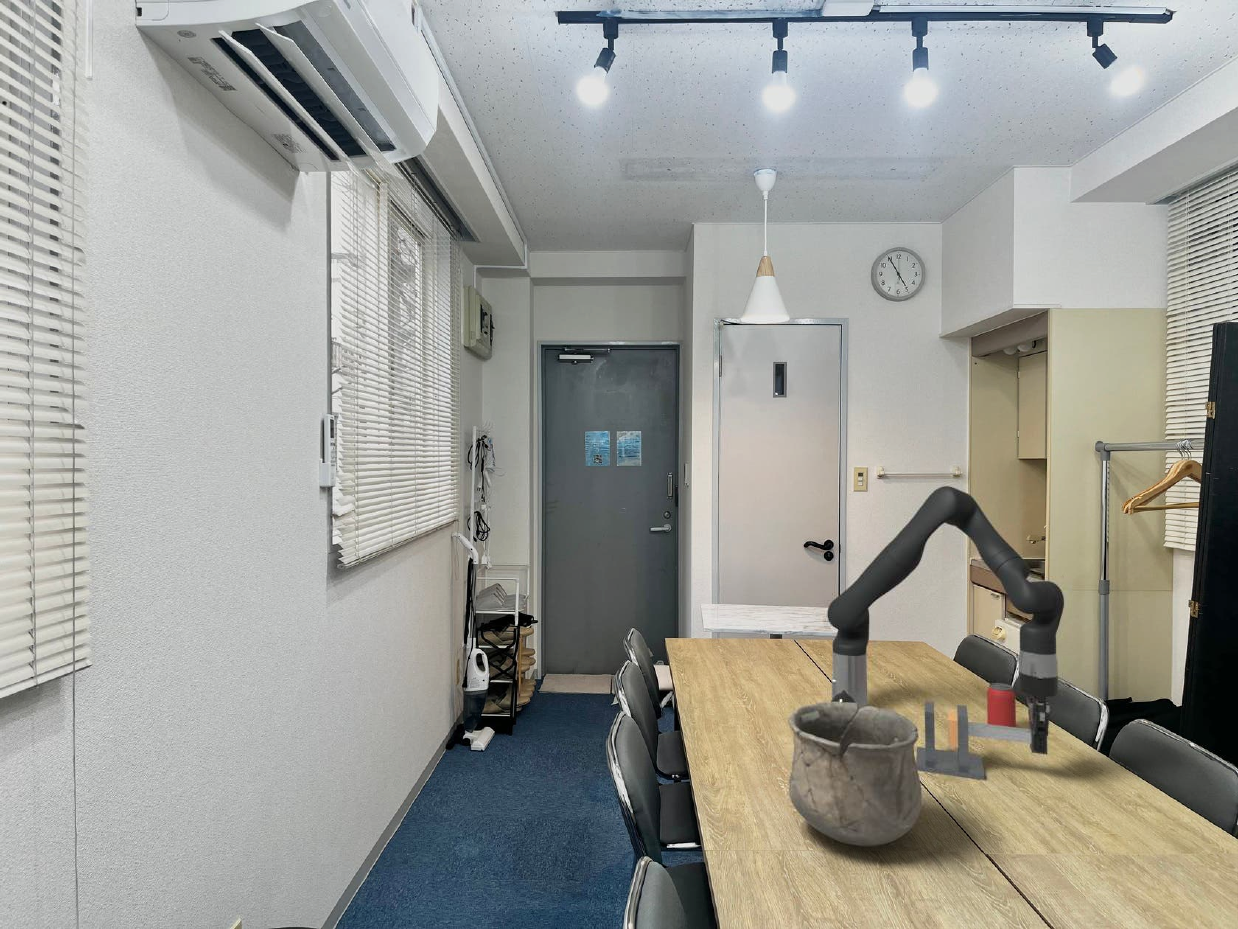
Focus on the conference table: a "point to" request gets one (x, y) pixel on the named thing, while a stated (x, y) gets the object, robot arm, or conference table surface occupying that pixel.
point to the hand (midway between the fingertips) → (1038, 748)
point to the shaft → (1004, 733)
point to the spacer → (952, 729)
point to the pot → (855, 772)
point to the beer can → (1001, 705)
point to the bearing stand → (948, 760)
